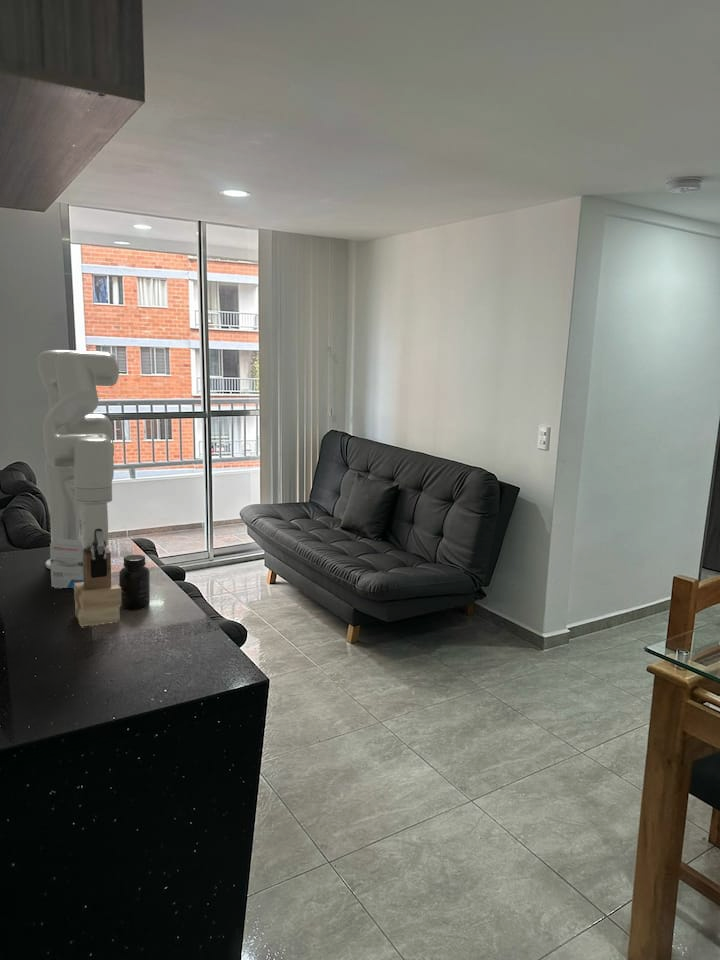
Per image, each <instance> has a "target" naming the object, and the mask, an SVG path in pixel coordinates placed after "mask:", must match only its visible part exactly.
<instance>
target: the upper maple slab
mask: <svg viewBox="0 0 720 960" xmlns="http://www.w3.org/2000/svg"><path fill="white" fill-rule="evenodd" d="M73 590H74V591H73V593H74V594H73V595H74V602H75V601H76V603H77V604H78V605H79V606H80V608H81V609H82V610H83V611H90V610H96V609H102V608H107V607H113V606H119V607H120V605H121V587H120V586H119V584H118V583H117V582H116V581H115V580H114V579H113V578H111V587H109V588H101V589H92V590H87V589H86V587H85V585H84V582H79V583H74V589H73Z"/></svg>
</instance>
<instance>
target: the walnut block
mask: <svg viewBox="0 0 720 960" xmlns="http://www.w3.org/2000/svg"><path fill="white" fill-rule="evenodd" d="M96 550H97V549H96ZM96 550H94V551H96ZM105 551H106V558H107V576H105V577H96V578H92V577H91V560H90V559H92V554H91V548H88V549H83V575H84V585H85V587H86V589H87V590H92V589H101V588H109V587H111V579H112V556H111V555H112V554H111V551H110V550H109V548H108V546H106V547H105Z"/></svg>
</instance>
